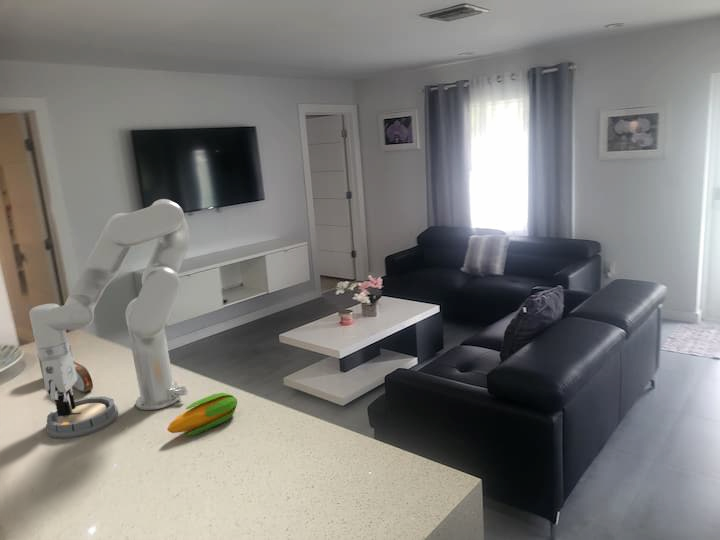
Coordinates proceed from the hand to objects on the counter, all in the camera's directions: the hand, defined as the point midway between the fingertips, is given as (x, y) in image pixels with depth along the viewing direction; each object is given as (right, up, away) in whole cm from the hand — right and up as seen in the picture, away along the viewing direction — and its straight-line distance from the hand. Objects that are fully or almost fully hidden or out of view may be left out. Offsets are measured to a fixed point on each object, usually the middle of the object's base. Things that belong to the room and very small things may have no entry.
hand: (67, 411), depth 152 cm
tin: (-9, +1, +24) cm, 26 cm away
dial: (+4, -2, +1) cm, 4 cm away
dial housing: (+4, -3, +1) cm, 5 cm away
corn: (+41, -2, -7) cm, 41 cm away
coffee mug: (-20, +2, +35) cm, 40 cm away
